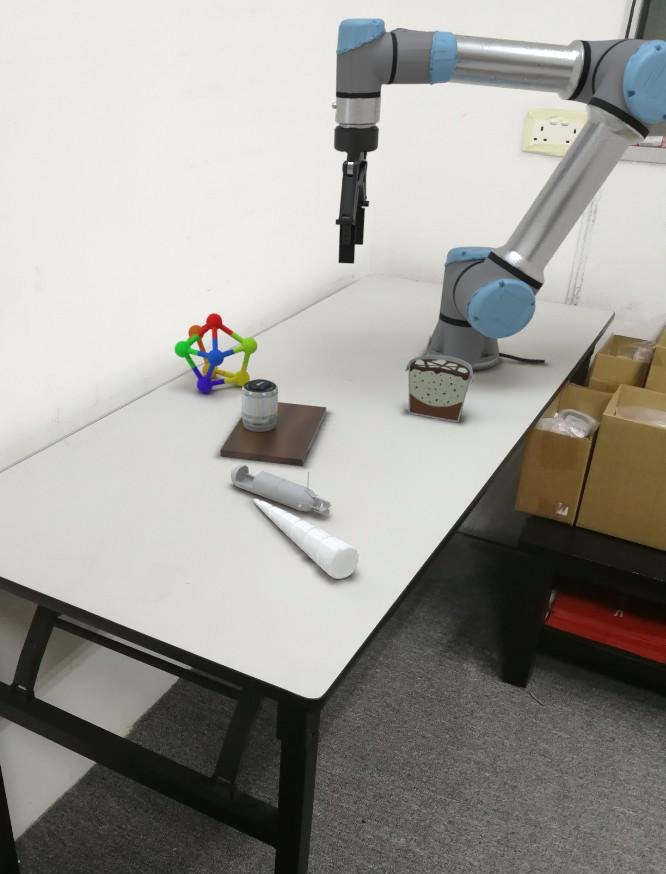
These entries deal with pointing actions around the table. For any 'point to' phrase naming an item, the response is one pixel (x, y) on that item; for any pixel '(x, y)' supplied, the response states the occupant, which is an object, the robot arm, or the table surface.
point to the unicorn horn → (315, 542)
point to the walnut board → (278, 436)
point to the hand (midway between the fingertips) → (351, 253)
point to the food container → (438, 386)
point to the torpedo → (279, 490)
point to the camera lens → (259, 405)
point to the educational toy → (215, 354)
